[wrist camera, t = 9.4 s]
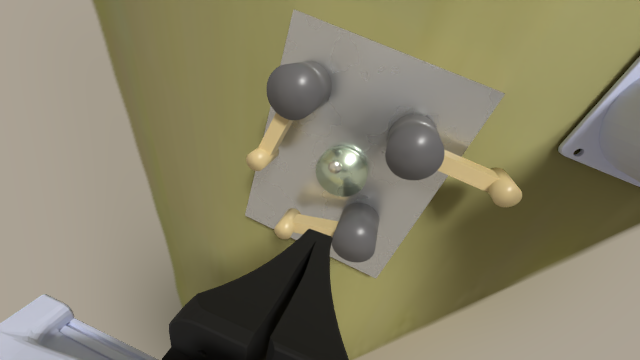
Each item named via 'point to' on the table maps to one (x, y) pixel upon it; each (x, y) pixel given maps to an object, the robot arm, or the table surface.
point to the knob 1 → (290, 104)
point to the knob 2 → (338, 230)
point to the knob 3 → (442, 160)
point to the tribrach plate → (363, 134)
